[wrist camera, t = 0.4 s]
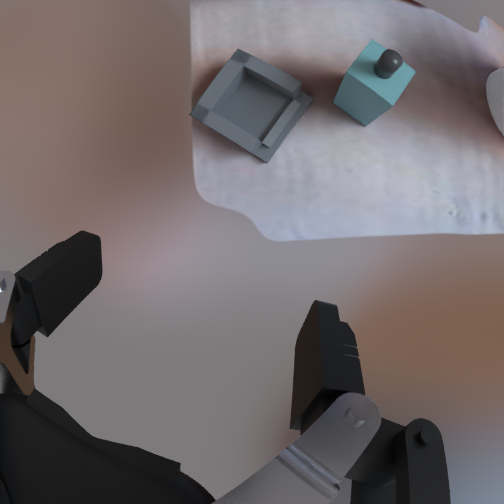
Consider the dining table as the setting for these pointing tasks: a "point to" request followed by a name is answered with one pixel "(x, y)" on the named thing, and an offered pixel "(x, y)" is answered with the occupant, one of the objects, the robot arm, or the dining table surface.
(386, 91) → the plug
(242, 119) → the socket
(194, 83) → the dining table surface
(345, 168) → the dining table surface
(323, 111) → the dining table surface
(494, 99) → the canister
